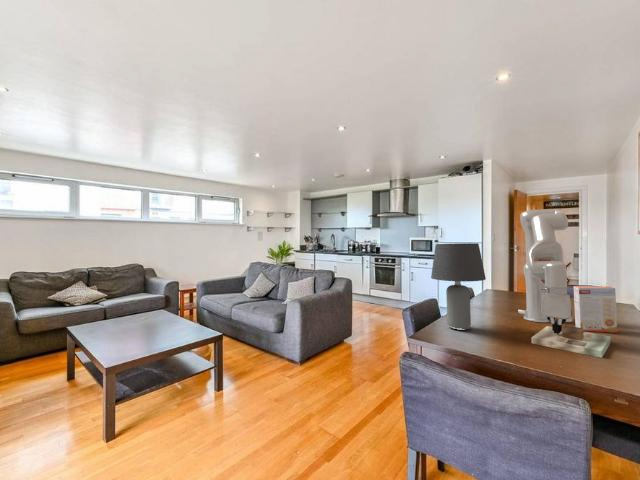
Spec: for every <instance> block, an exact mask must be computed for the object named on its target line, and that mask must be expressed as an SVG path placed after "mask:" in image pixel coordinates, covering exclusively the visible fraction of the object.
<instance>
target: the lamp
mask: <svg viewBox="0 0 640 480" xmlns="http://www.w3.org/2000/svg"><path fill="white" fill-rule="evenodd" d="M434 246H435V247H434V253H433V255H434V256H433V262H432V269H431V276H430V277H431V279H432V280H437V281H444V282H454V284H451V285H449V286H447V288H446V291H445V292H446V294H445V295H446V316H447V317H446V323H447V326H448V325H449V326H452V327H455V328H462V329H468V328H469V329H471V325H472V321H471V319H472V318H471V316H472V315H471V295H470V294H471V291H470V288H469V287H468V286H466V285H463V284H462V283H461V282H465V283H466V282H480V281H486V279H487V278H486V273H485V269H484V263H483V259H482V258H483V257H482V254H481V248H480V244H479V243H478V242H477V243H476V242H475V243H473V242H472V243H471V242H468V243H467V242H465V243H460V242H459V243H436V244H435V245H434ZM449 326H448V327H449ZM469 329H468V330H469Z"/></svg>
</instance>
